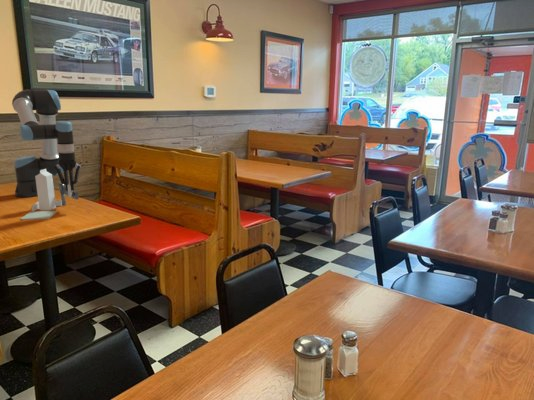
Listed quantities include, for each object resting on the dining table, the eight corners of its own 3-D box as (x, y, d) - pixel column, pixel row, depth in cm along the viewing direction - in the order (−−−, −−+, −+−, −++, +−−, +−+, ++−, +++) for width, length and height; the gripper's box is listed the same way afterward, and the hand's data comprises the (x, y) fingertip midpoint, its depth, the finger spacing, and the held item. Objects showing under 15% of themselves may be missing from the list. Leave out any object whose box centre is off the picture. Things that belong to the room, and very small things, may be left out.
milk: (39, 210, 223) (33, 170, 217) (45, 207, 228) (40, 168, 223) (50, 210, 222) (45, 170, 217) (56, 207, 228) (51, 168, 223)
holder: (40, 205, 233) (39, 193, 231) (66, 204, 235) (65, 192, 233) (32, 211, 220) (30, 199, 218) (58, 210, 222) (57, 198, 221)
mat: (30, 212, 218) (30, 211, 218) (56, 211, 220) (56, 210, 220) (20, 219, 206) (20, 218, 206) (48, 218, 208) (48, 217, 208)
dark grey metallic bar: (59, 192, 232) (58, 184, 231) (64, 192, 234) (63, 183, 233) (74, 200, 216) (73, 191, 215) (79, 199, 218) (78, 190, 217)
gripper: (50, 153, 206) (55, 198, 212) (77, 153, 209) (81, 198, 215) (55, 151, 214) (59, 195, 220) (81, 151, 216) (85, 194, 222)
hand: (70, 196), depth 217 cm, fingers closed
